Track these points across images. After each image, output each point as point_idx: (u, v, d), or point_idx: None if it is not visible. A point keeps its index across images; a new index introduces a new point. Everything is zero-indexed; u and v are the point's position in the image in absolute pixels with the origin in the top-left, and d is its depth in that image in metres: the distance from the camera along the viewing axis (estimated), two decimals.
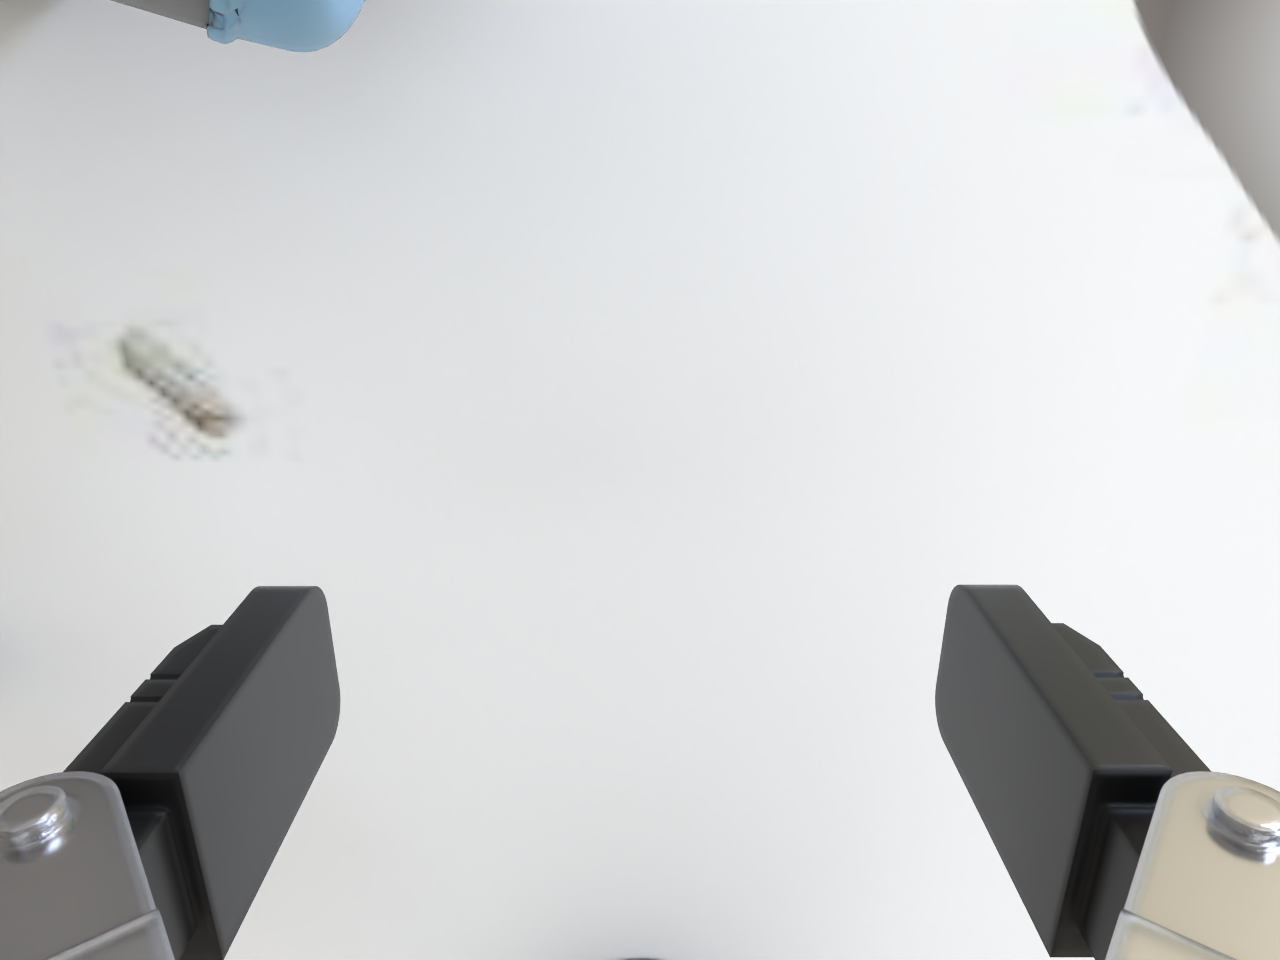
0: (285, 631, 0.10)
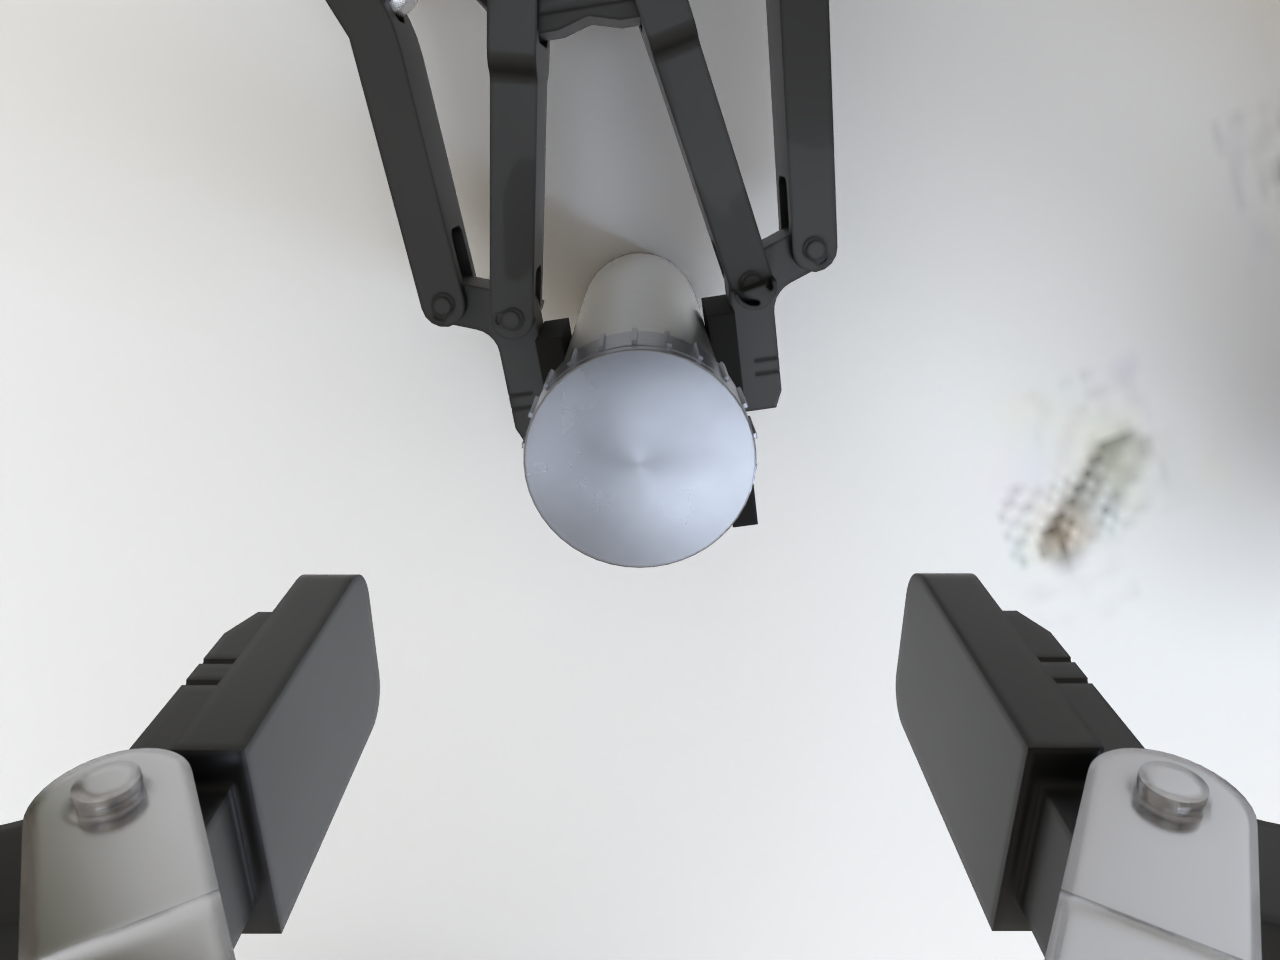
0: (333, 617, 0.10)
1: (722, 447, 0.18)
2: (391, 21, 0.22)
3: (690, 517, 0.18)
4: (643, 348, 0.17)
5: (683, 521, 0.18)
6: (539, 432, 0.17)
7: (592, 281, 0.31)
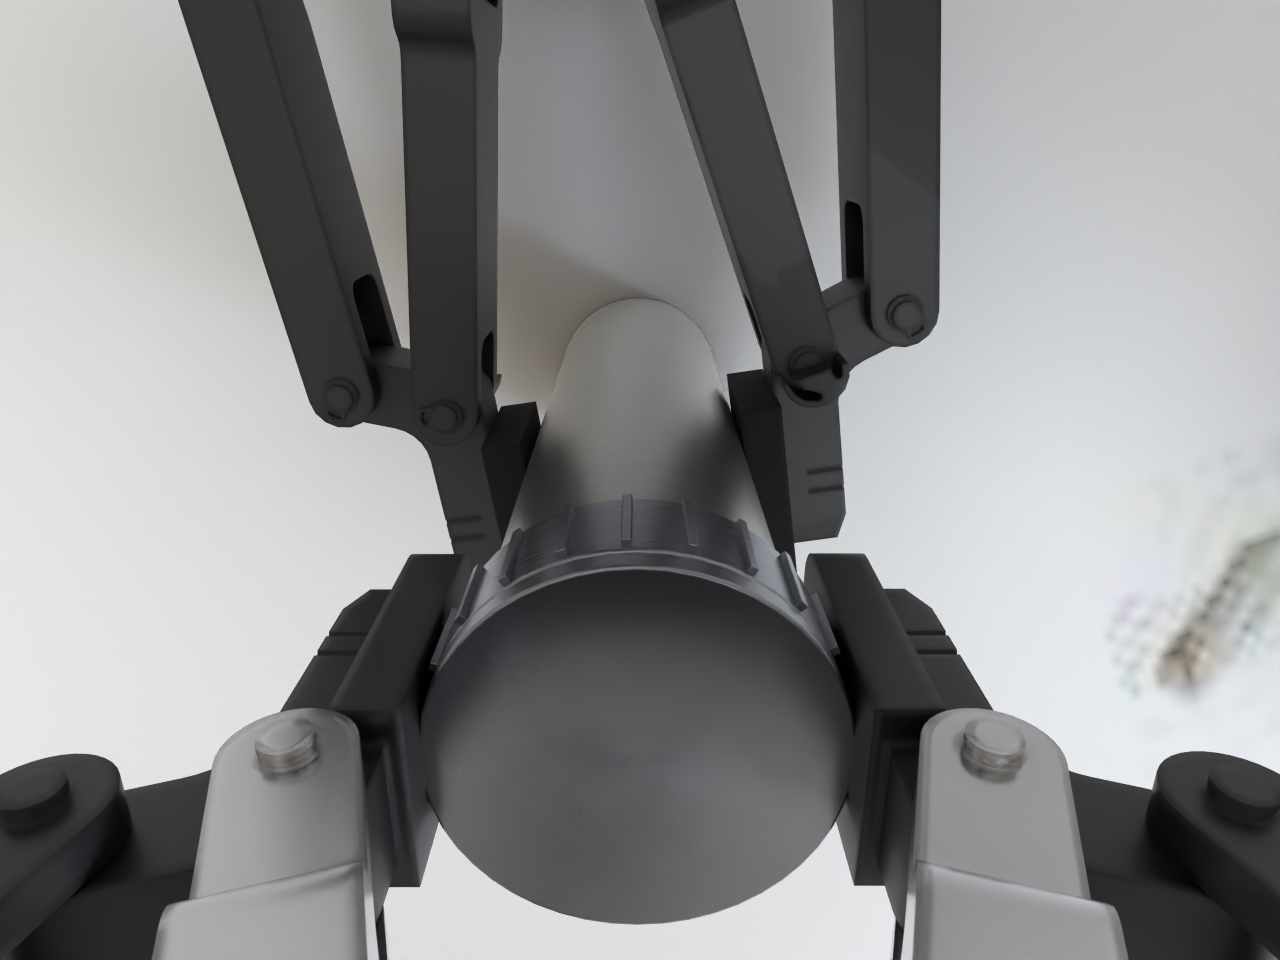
0: (449, 593, 0.11)
1: (793, 734, 0.09)
2: None
3: (730, 848, 0.10)
4: (644, 561, 0.09)
5: (717, 854, 0.10)
6: (445, 709, 0.09)
7: (573, 338, 0.23)
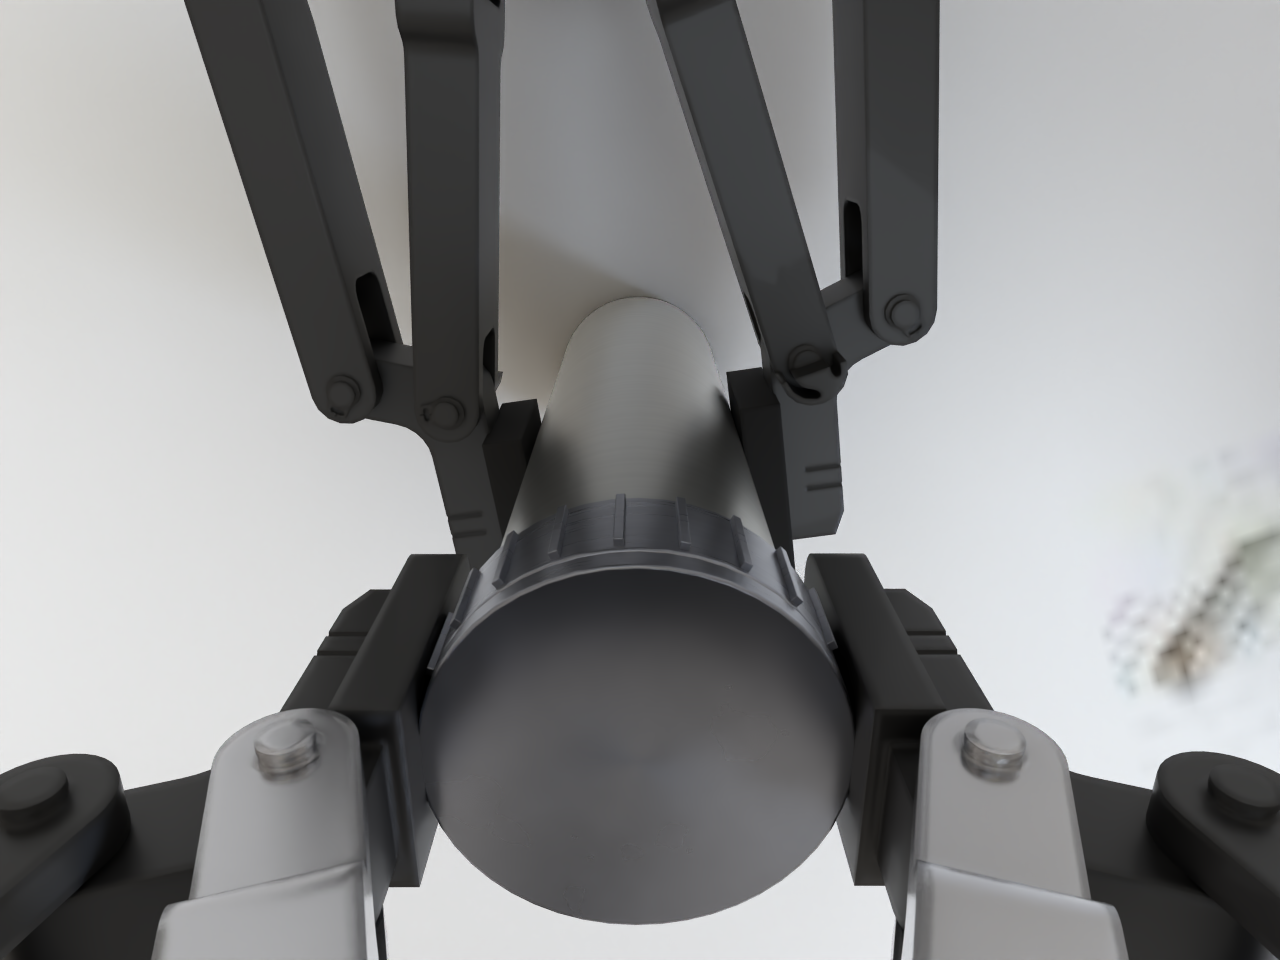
0: (449, 593, 0.11)
1: (667, 626, 0.09)
2: None
3: (778, 723, 0.09)
4: (430, 679, 0.09)
5: (780, 736, 0.09)
6: (513, 876, 0.10)
7: (574, 336, 0.23)
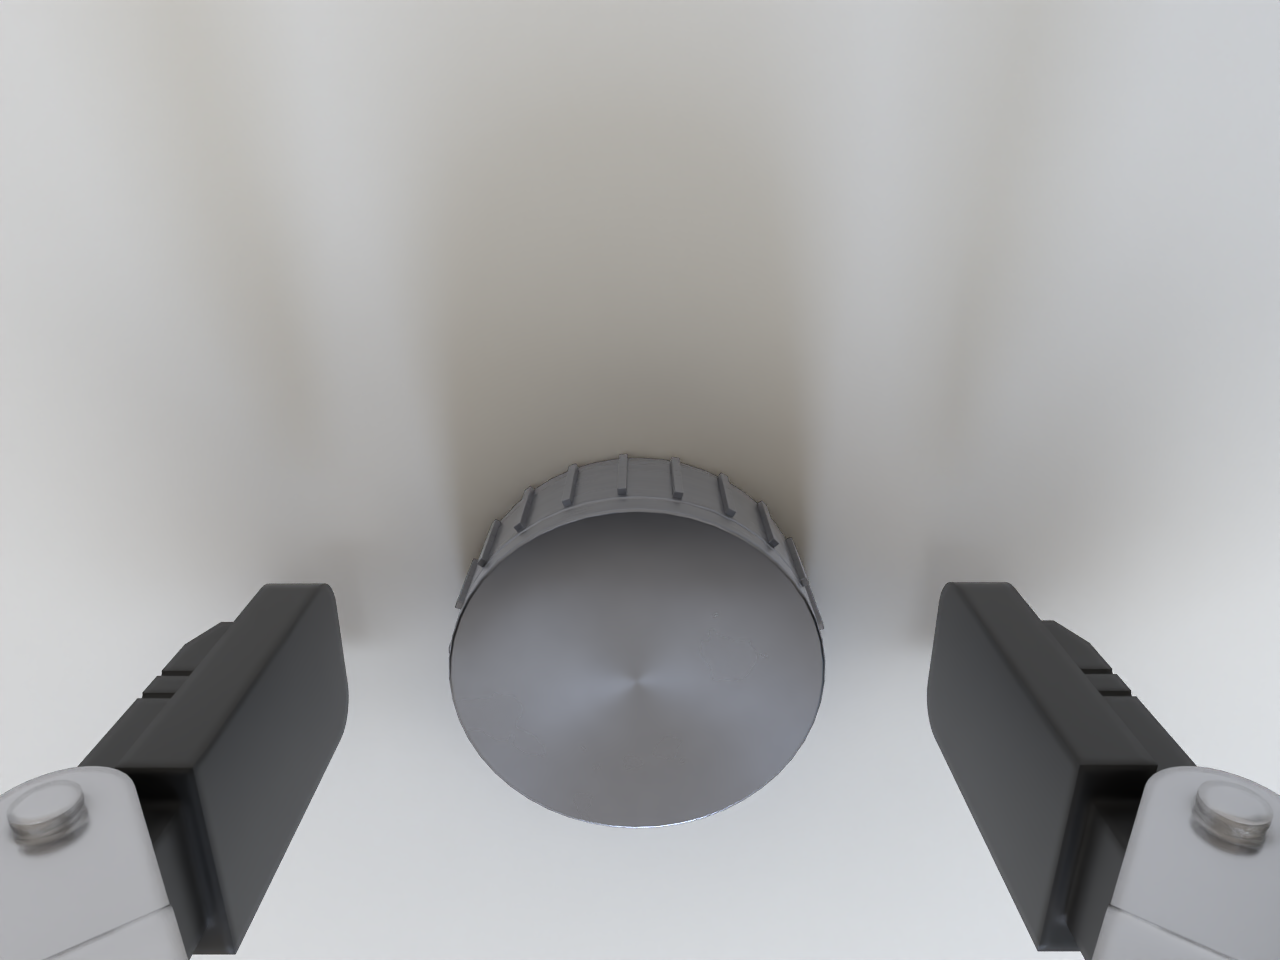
0: (295, 628, 0.10)
1: (663, 562, 0.10)
2: None
3: (757, 647, 0.11)
4: (461, 608, 0.11)
5: (759, 658, 0.11)
6: (530, 783, 0.12)
7: None
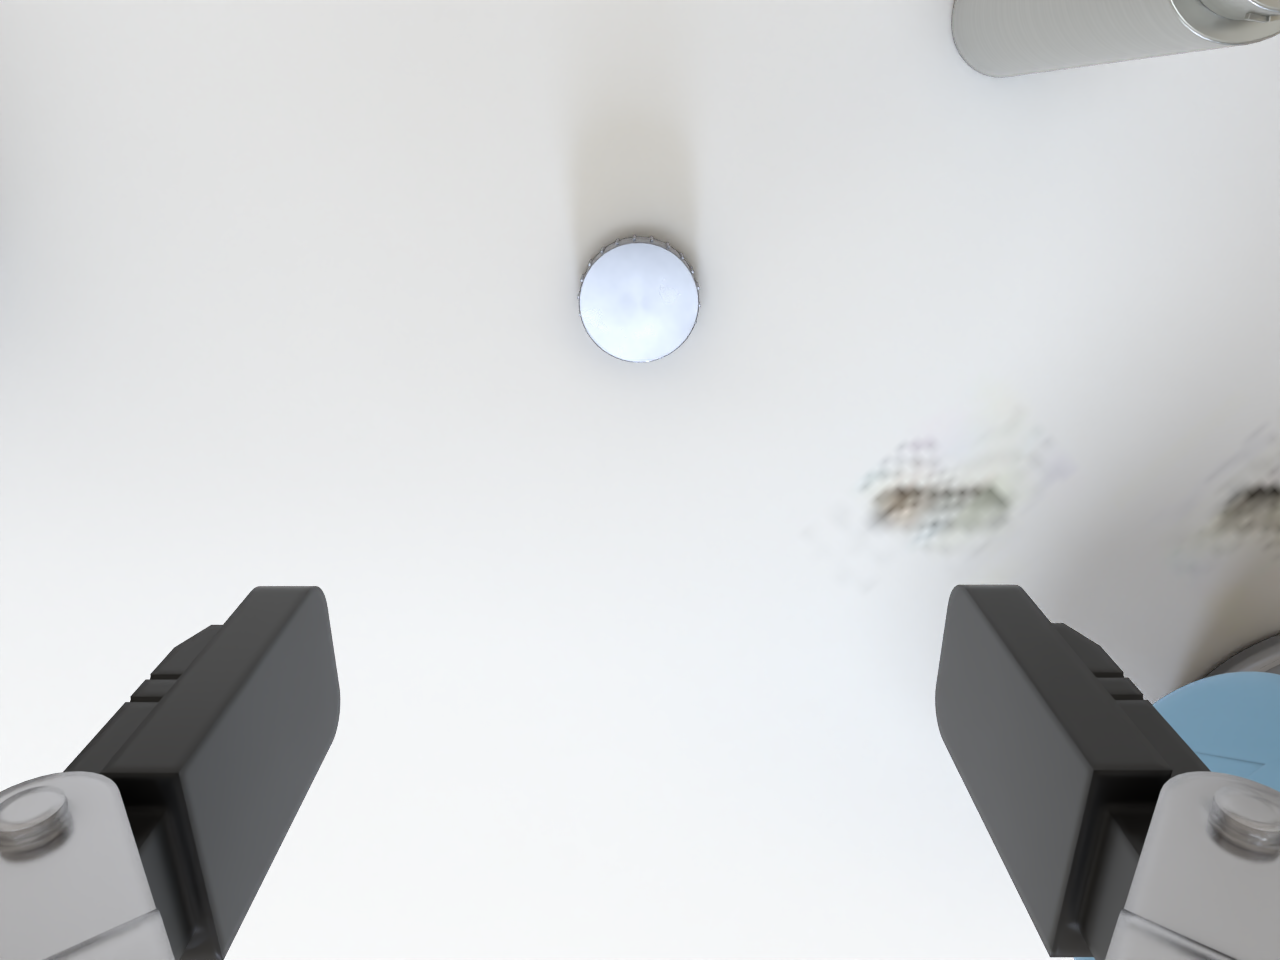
0: (285, 631, 0.10)
1: (647, 260, 0.34)
2: None
3: (677, 290, 0.34)
4: (583, 278, 0.34)
5: (677, 295, 0.34)
6: (603, 343, 0.35)
7: None
